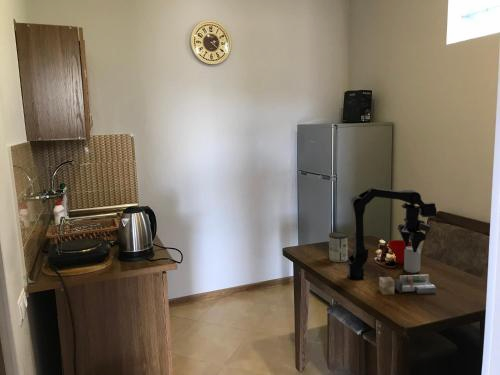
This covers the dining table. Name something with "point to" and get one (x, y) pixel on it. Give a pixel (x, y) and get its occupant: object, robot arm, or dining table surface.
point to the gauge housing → (418, 283)
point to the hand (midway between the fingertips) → (410, 249)
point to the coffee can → (338, 246)
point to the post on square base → (408, 286)
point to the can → (412, 260)
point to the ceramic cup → (398, 249)
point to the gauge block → (386, 285)
